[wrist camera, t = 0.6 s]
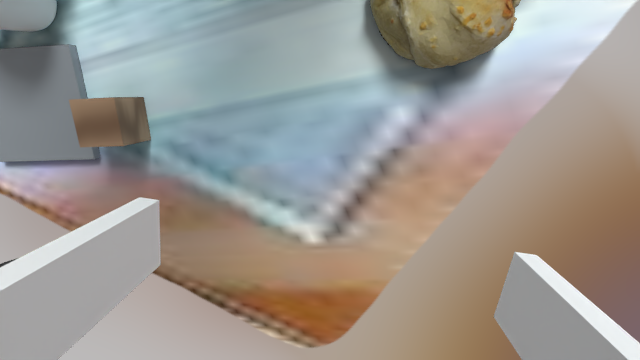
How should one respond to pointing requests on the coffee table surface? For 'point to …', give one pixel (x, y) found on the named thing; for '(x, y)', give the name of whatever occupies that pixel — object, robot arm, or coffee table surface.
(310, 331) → the coffee table surface
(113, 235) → the robot arm
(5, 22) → the cup
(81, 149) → the coaster
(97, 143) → the walnut block
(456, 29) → the pastry
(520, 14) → the coffee table surface
